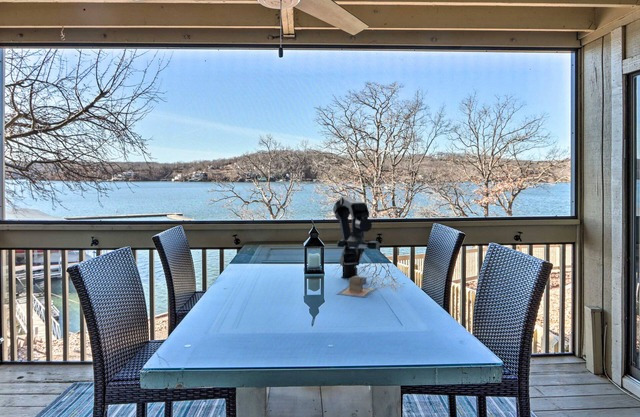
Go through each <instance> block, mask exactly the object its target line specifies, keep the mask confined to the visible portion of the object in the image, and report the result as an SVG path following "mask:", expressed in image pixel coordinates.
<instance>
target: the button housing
mask: <svg viewBox="0 0 640 417" xmlns="http://www.w3.org/2000/svg"><path fill="white" fill-rule="evenodd" d="M363 277H364V279H363V286H364V285H365V284H366V283H367V277H366V276H363Z"/></svg>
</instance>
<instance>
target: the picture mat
mask: <svg viewBox="0 0 640 417" xmlns="http://www.w3.org/2000/svg"><path fill="white" fill-rule="evenodd" d="M376 290H377V288H374V287H365V286H363V291H362V292H361V293H359V294H358V293H349V285H348V286H346V287H345V288H343V289H342V290H340V291H338V292H337V293H336V295H339V296H347V297H348V296H349V297H356V298H364V299H366V298H368V297H369V296H370V295H371V294H372V293H373V292H374V291H376Z"/></svg>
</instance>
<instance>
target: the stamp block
mask: <svg viewBox="0 0 640 417" xmlns="http://www.w3.org/2000/svg"><path fill="white" fill-rule="evenodd" d="M363 277H364V276H363ZM363 277H354V276H353V277H351V278H350V279H348V281H349V285H348V286H349V293H358V294H359V293H361V292H362V291H363V287H364V285H363Z"/></svg>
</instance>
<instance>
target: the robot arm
mask: <svg viewBox="0 0 640 417" xmlns="http://www.w3.org/2000/svg"><path fill="white" fill-rule="evenodd" d="M332 211H333V214H334V216H335V218H336V220H337V221H338V222H339V227H340V232H341V233H340V234H341V237H342V239H340V240H338V241H337V248H343V249H342V252H341V255H340V256H341V257H340V258H339V265H340V266H341V267H342V276H341V279H348V280H349V279H350V278H351V277H353V276H359V275H358V267H357V266H359V265H360V261H361V259H362V257H363V254H364V252H365V250H367V249H368V250H376V249H378V248H380V242H379V241H378V240H376V241H375V240H371V241H368V242H366V239H365V234H366V233H367V232H369V231H370V230H371V229H372V227H373V223H372V221H371V220H370V219H368V218H370V211H369V208H368V205H367V203H366V202H364V201H356V200H355V199H353V198H352V197H351V196H342V197H341V196H340V199H338V200H337V201H336V202H335V203H334V205H333V208H332ZM350 216H351V226H350V221H349V218H350Z"/></svg>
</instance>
